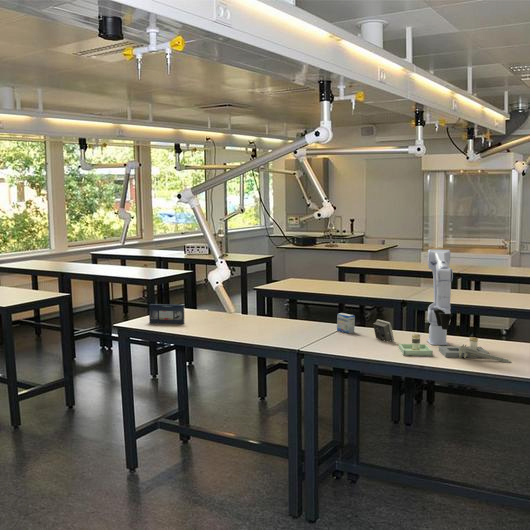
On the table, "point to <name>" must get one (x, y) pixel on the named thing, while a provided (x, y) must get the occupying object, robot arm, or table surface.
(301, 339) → the table surface
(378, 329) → the electrical switch
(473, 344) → the fuse
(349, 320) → the medicine box
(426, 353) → the parts tray
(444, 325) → the robot arm
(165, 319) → the vhs cassette tape
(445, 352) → the fuse block
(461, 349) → the caliper
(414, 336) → the banded cream cylinder
